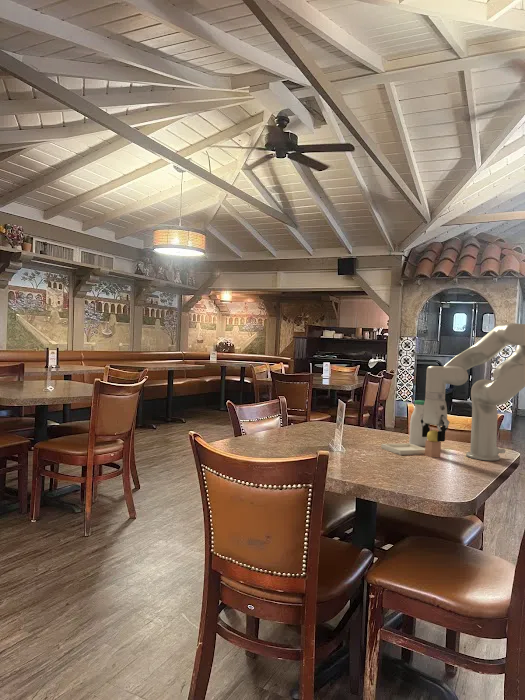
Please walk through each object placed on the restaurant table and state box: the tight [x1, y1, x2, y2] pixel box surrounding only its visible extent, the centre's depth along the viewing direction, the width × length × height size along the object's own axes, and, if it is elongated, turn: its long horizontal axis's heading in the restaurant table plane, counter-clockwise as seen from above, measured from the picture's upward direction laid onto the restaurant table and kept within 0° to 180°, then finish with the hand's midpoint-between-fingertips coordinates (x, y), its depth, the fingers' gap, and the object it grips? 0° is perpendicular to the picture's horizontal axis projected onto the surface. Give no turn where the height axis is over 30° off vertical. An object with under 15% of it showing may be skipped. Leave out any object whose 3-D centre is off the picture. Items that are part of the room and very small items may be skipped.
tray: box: [380, 442, 425, 456], centre depth 214 cm, size 14×14×2 cm
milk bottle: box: [408, 399, 428, 447], centre depth 230 cm, size 8×8×20 cm
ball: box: [427, 429, 438, 442], centre depth 206 cm, size 5×5×5 cm
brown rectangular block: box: [424, 439, 442, 458], centre depth 206 cm, size 4×4×6 cm
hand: (433, 439), depth 206 cm, fingers open, 9 cm apart
